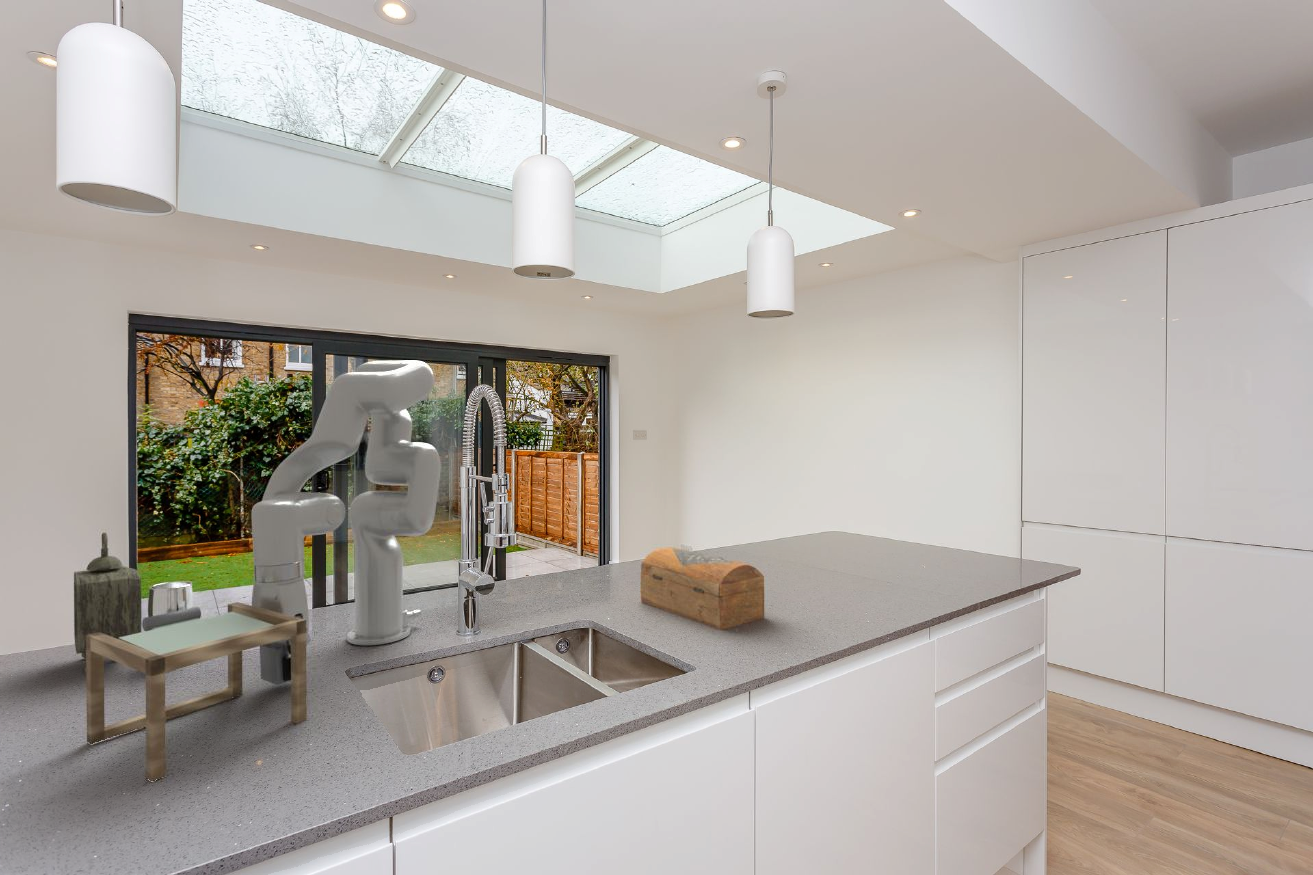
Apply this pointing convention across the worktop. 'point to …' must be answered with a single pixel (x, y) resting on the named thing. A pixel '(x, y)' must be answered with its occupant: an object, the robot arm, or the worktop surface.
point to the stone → (272, 662)
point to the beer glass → (170, 597)
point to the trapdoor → (189, 630)
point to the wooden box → (702, 587)
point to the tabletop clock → (106, 599)
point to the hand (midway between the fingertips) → (283, 673)
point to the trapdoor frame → (159, 664)
